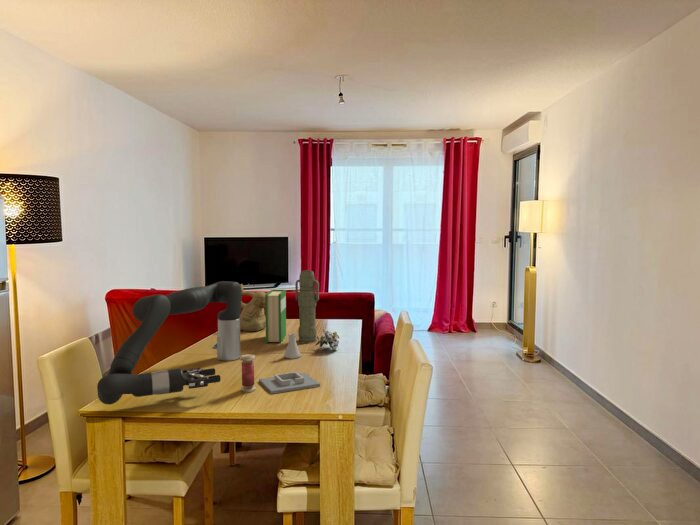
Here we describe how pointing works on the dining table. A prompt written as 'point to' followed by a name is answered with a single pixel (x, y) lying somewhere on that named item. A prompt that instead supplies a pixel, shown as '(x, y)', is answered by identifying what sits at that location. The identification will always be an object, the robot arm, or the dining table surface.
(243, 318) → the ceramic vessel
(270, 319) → the hardback book
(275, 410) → the dining table surface
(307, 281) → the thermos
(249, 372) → the bobbin
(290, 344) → the flask
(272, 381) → the board
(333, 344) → the passion flower
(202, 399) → the dining table surface
